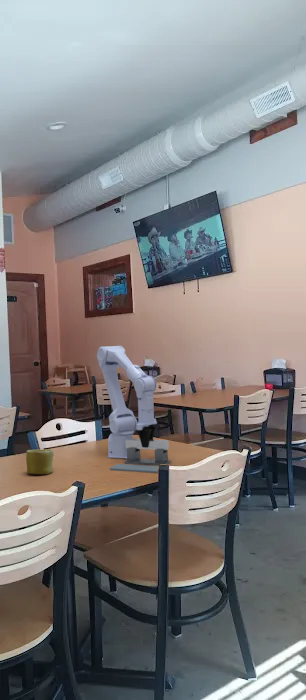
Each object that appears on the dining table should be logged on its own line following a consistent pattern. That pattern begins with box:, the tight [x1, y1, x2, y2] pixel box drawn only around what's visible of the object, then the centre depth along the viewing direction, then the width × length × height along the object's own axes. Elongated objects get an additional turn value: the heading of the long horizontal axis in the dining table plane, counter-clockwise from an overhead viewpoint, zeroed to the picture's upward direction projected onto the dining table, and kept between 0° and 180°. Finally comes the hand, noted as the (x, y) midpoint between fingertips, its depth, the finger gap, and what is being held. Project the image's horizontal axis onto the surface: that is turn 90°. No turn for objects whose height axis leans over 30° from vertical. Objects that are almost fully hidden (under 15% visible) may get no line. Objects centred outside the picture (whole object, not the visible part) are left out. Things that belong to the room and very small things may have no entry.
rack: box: [124, 448, 172, 466], centre depth 210 cm, size 16×6×6 cm, turn 68°
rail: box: [125, 438, 170, 451], centre depth 210 cm, size 16×3×3 cm, turn 68°
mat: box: [109, 463, 159, 474], centre depth 201 cm, size 18×7×1 cm, turn 69°
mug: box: [25, 448, 55, 475], centre depth 201 cm, size 12×10×10 cm
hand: (147, 446), depth 210 cm, fingers closed on rail, 3 cm apart
